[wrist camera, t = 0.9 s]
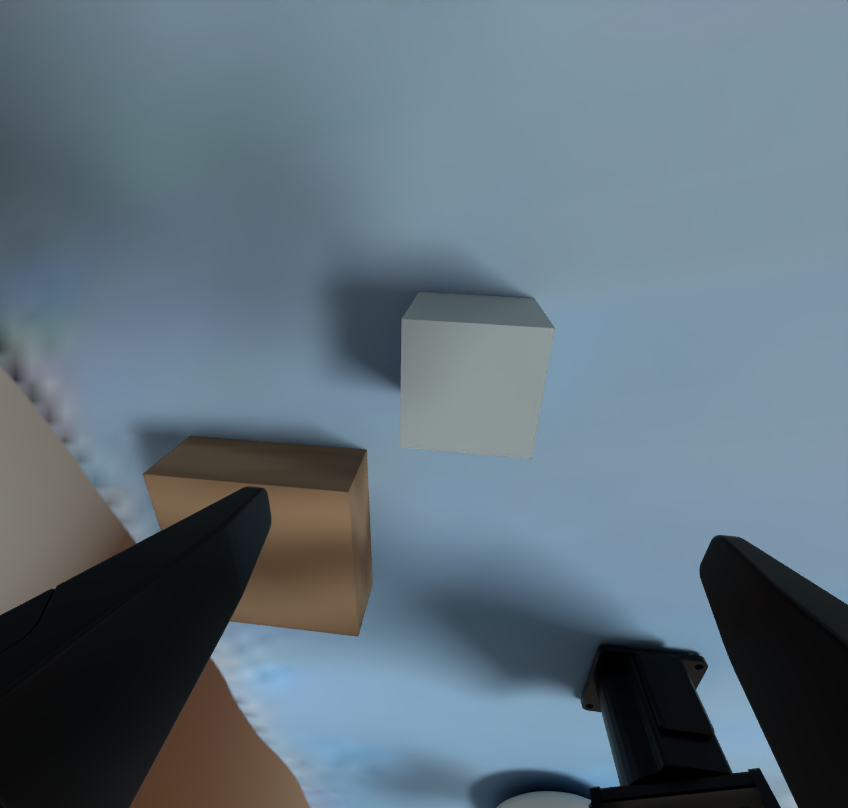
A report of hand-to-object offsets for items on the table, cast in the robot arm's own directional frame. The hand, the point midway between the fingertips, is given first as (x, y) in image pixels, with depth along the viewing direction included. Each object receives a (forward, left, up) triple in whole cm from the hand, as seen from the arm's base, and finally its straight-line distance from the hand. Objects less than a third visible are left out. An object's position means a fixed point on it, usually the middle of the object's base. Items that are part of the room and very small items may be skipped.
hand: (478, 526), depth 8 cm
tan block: (-11, +10, -12) cm, 19 cm away
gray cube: (0, 0, -12) cm, 12 cm away
